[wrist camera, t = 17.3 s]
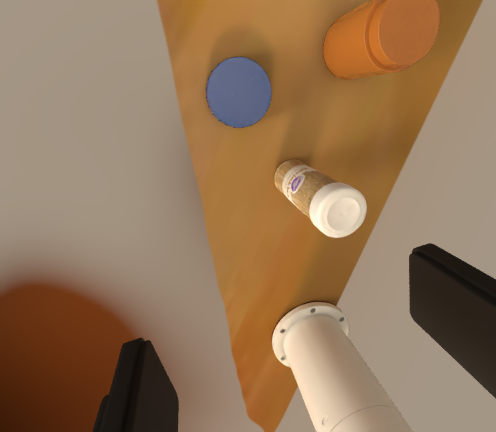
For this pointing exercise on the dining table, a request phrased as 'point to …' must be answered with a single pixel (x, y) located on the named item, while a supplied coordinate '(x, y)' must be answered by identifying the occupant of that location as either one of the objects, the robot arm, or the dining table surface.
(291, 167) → the sprinkles bottle
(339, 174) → the dining table surface
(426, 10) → the jar
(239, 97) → the lid
